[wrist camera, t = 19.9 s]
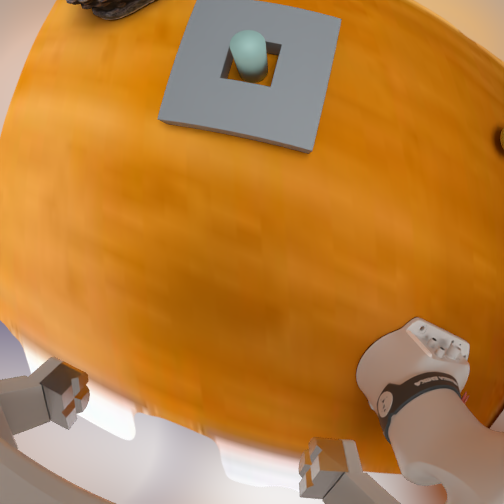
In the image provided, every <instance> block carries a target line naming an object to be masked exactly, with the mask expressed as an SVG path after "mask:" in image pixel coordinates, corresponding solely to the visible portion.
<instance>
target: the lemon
mask: <svg viewBox="0 0 504 504" xmlns="http://www.w3.org/2000/svg"><path fill="white" fill-rule="evenodd" d="M500 142H501V145H502V147H503V149H504V128H503V130H502V131H501V134H500Z"/></svg>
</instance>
